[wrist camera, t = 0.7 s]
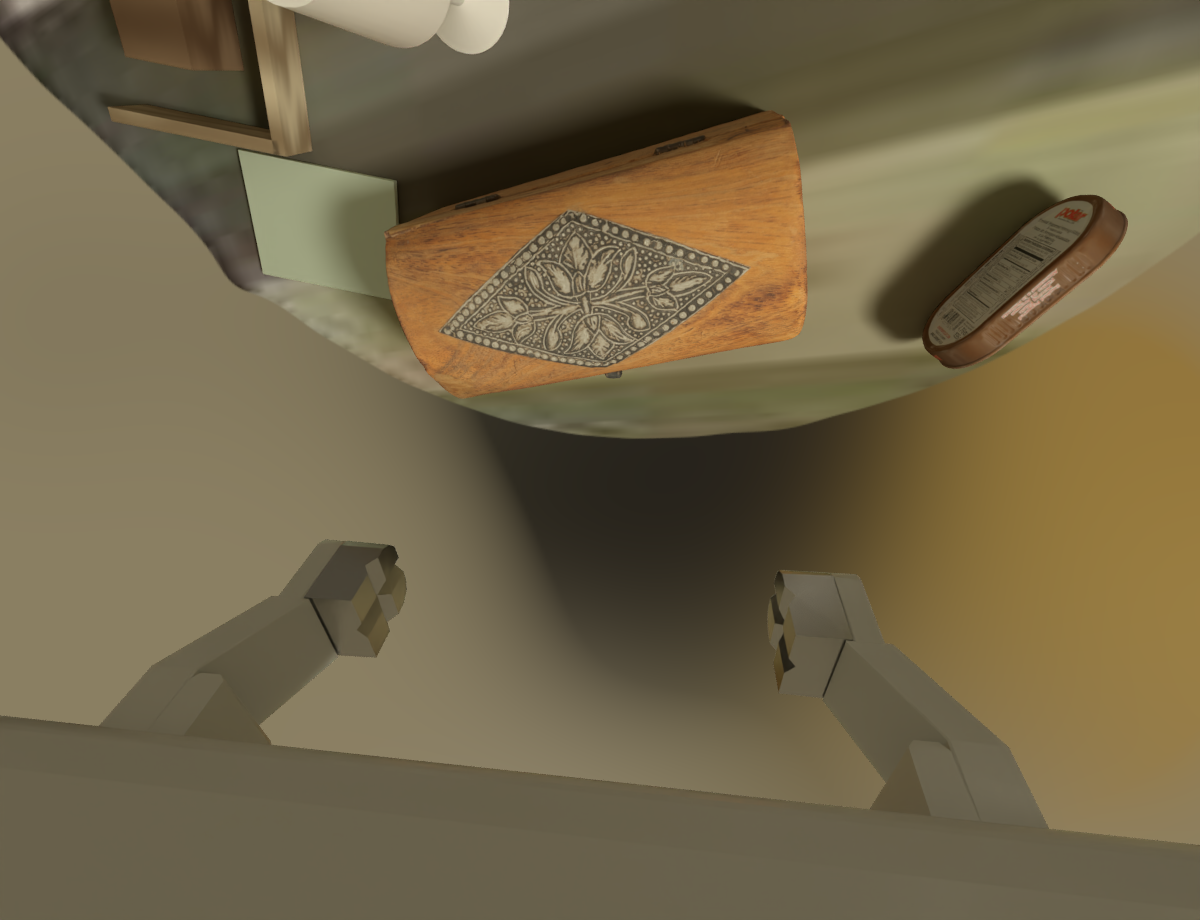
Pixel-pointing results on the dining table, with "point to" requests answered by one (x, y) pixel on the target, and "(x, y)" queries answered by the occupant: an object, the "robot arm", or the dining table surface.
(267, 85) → the birch u-shaped frame
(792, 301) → the wooden box
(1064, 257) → the tin
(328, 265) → the felt mat
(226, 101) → the dining table surface
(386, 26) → the champagne flute
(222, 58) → the walnut block
